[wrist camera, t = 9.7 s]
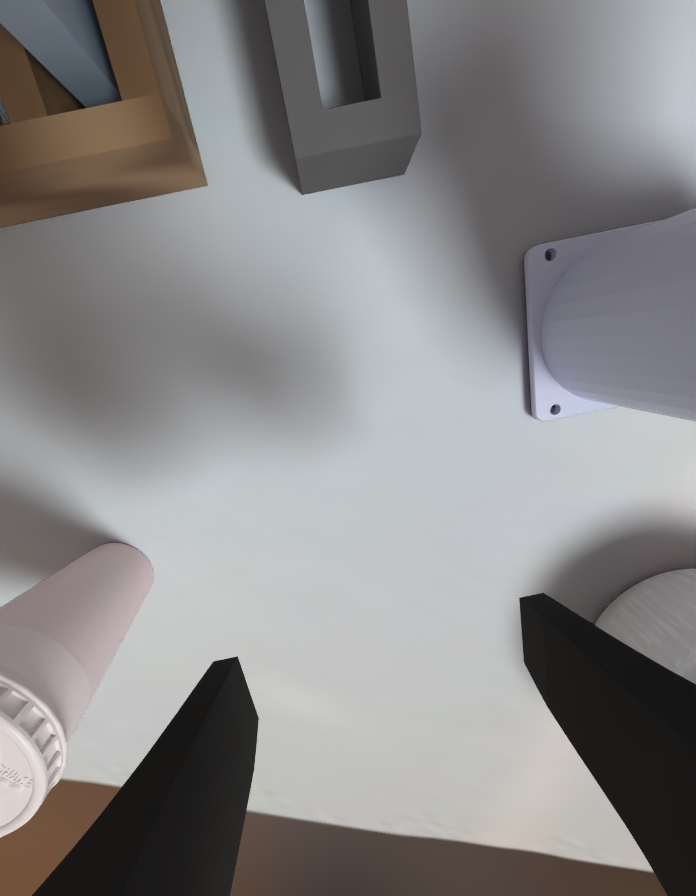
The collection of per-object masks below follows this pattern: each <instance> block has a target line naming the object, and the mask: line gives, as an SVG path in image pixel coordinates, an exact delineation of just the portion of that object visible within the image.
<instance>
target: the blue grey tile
mask: <svg viewBox="0 0 696 896" xmlns="http://www.w3.org/2000/svg"><path fill="white" fill-rule="evenodd" d="M0 23H1V24H2V25H3V26H4V27H5V28H6V29H7V30H8V31H9V32H10V33H11V34H12V35H13V36H14V37H15V38H16V39H17V40H18V41H19V42H20V43H21V44H22V45H23V46H24V47H25V48H26V49H27V50H28V51H29V52H30V53H31V54H32V55H33V56H34V57H35V58H36V59H37V60H38V61H39V62H40V63H41V64H42V65H43V66H44V67H45V68H46V69H47V70H48V71H49V72H50V73H51V74H52V75H53V76H54V77H55V78H56V79H57V80H58V81H59V82H60V83H61V84H62V85H63V86H65V87H66V88H67V89H68V90H69V91H70V92H71V93H72V94H73V95H74V96H75V97H76V98H77V99H78V100H79V101H80V102H81V103H82V104H83V105H84V106H85V107H86V108H89V107H94V106H99V105H104V104H109V103H114V102H119V101H122V98H121V95H120V92H119V88H118V85H117V81H116V78H115V75H114V71H113V68H112V65H111V61H110V58H109V55H108V51H107V48H106V44H105V41H104V38H103V34H102V31H101V28H100V24H99V21H98V18H97V14H96V11H95V7H94V4H93V1H92V0H0Z"/></svg>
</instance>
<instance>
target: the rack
mask: <svg viewBox="0 0 696 896" xmlns="http://www.w3.org/2000/svg"><path fill="white" fill-rule="evenodd" d="M92 1H93V4H94V7H95V11H96V14H97V18H98V21H99V24H100V28H101V31H102V34H103V38H104V41H105V44H106V48H107V51H108V55H109V58H110V61H111V65H112V68H113V71H114V75H115V78H116V81H117V85H118V88H119V92H120V95H121V98H122V101H119V102H114V103H109V104H104V105H99V106H94V107H89V108H86V107H85V106H84V105H83V104H82V103H81V102H80V101H79V100H78V99H77V98H76V97H75V96H74V95H73V94H72V93H71V92H70V91H69V90H68V89H67V88H66V87H65V86H63V85H62V84H61V83H60V82H59V81H58V80H57V79H56V78H55V77H54V76H53V75H52V74H51V73H50V72H49V71H48V70H47V69H46V68H45V67H44V66H43V65H42V64H41V63H40V62H39V61H38V60H37V59H36V58H35V57H34V56H33V55H32V54H31V53H30V52H29V51H28V50H27V49H26V48H25V47H24V46H23V45H22V44H21V43H20V42H19V41H18V40H17V39H16V38H15V37H14V36H13V35H12V34H11V33H10V32H9V31H8V30H7V29H6V28H5V27H4V26H3V25H2V24H1V23H0V97H1V99H2V102H3V105H4V107H5V110H6V113H7V115H8V118H9V121H10V123H11V124H6V125H3V122H2V119H1V117H0V227H5V226H10V225H15V224H20V223H25V222H30V221H35V220H40V219H45V218H50V217H55V216H60V215H64V214H69V213H74V212H79V211H84V210H89V209H94V208H99V207H104V206H109V205H114V204H119V203H124V202H129V201H134V200H139V199H144V198H149V197H154V196H158V195H163V194H168V193H173V192H178V191H183V190H188V189H193V188H198V187H203V186H208V185H207V181H206V177H205V173H204V169H203V166H202V162H201V158H200V154H199V150H198V146H197V142H196V138H195V134H194V131H193V127H192V123H191V119H190V115H189V111H188V107H187V103H186V99H185V96H184V92H183V88H182V84H181V80H180V76H179V72H178V68H177V64H176V61H175V57H174V53H173V49H172V45H171V41H170V37H169V33H168V30H167V26H166V22H165V18H164V14H163V10H162V6H161V2H160V0H92Z"/></svg>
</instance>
